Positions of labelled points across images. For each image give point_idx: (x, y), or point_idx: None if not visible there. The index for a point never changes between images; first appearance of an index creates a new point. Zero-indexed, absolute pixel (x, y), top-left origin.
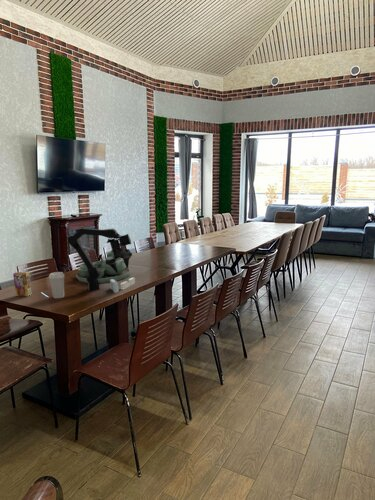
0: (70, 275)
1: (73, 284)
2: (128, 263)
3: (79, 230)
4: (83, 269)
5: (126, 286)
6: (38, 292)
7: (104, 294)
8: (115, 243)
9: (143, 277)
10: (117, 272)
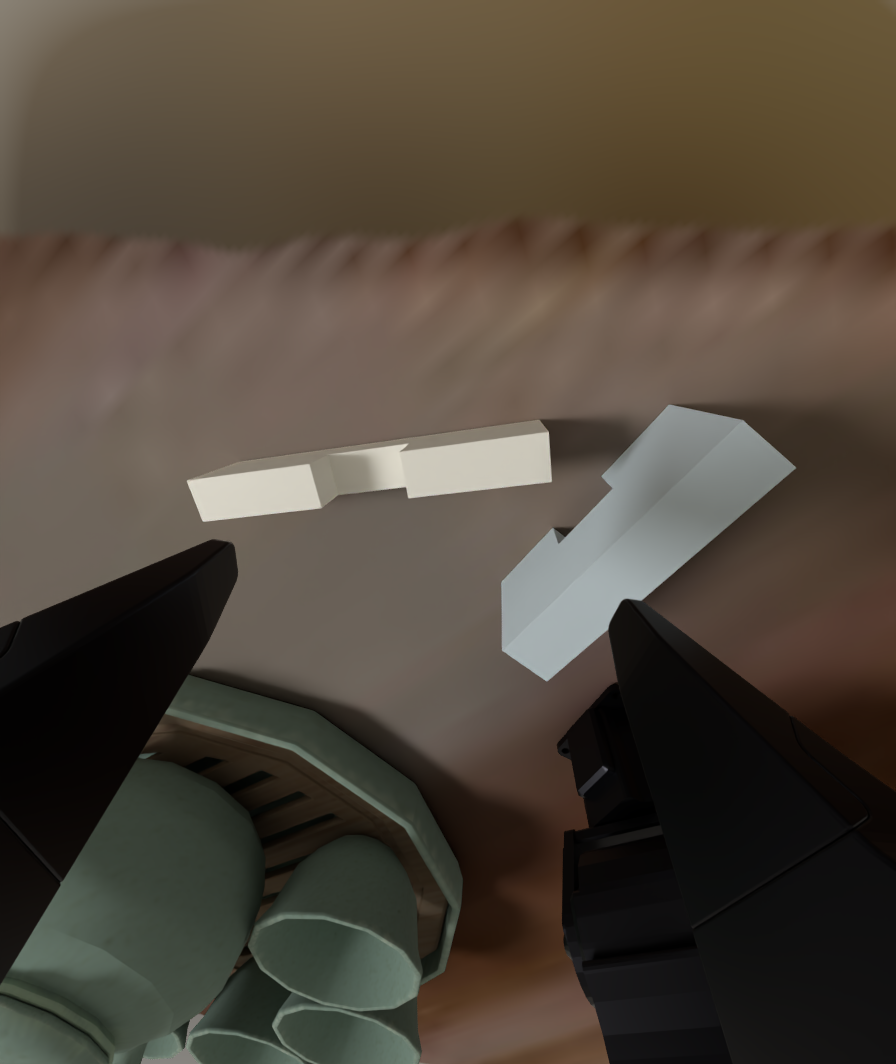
0: None
1: (532, 920)
2: (65, 603)
3: None
4: (335, 1035)
5: (453, 434)
6: None
7: (803, 522)
8: None
9: (20, 519)
10: (641, 601)
